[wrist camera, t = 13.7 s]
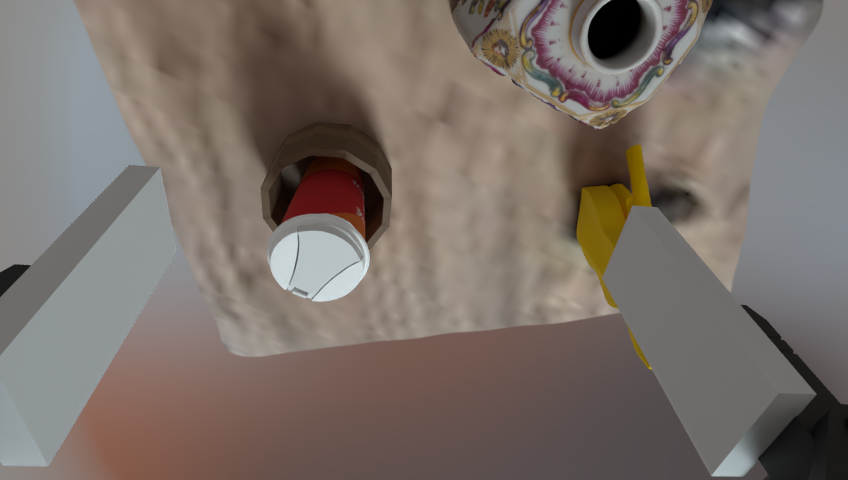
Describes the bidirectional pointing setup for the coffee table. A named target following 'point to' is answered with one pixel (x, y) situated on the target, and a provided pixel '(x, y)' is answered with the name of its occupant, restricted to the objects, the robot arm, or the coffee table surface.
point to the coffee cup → (322, 233)
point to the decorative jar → (583, 48)
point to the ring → (330, 144)
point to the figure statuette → (611, 220)
